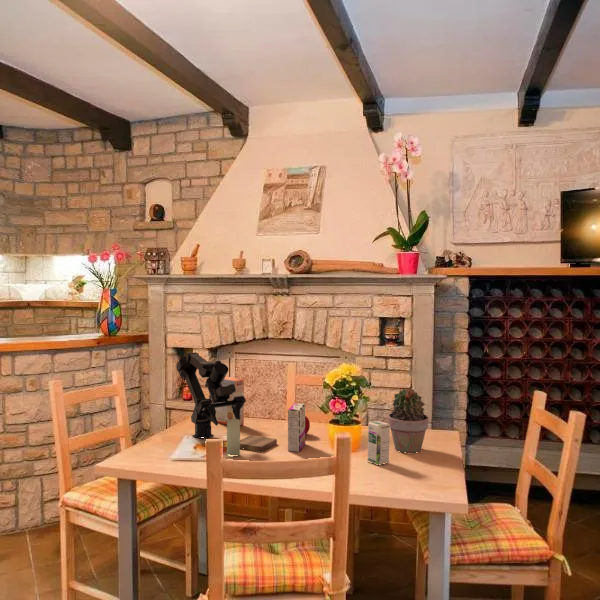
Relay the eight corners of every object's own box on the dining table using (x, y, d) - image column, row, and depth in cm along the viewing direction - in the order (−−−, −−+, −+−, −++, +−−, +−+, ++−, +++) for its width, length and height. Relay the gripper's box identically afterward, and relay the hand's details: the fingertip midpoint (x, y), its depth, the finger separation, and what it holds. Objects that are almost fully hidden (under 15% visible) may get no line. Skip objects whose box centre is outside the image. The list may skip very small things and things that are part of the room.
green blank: (224, 455, 207) (224, 421, 206) (233, 452, 210) (233, 418, 210) (233, 458, 204) (233, 423, 203) (242, 454, 208) (242, 420, 207)
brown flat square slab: (235, 447, 216) (235, 442, 216) (251, 439, 227) (251, 435, 227) (261, 452, 211) (261, 447, 211) (276, 443, 222) (276, 439, 221)
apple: (313, 434, 236) (314, 410, 236) (302, 439, 229) (302, 415, 228) (295, 430, 241) (295, 408, 241) (284, 435, 234) (284, 412, 233)
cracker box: (244, 425, 250) (244, 379, 249) (234, 427, 245) (234, 380, 245) (224, 419, 259) (224, 375, 259) (214, 421, 255) (214, 376, 254)
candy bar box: (293, 443, 223) (293, 402, 222) (305, 444, 222) (305, 403, 221) (287, 451, 212) (287, 409, 211) (299, 452, 211) (300, 409, 210)
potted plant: (413, 440, 228) (414, 380, 227) (440, 454, 210) (442, 389, 209) (374, 444, 222) (375, 382, 221) (399, 459, 204) (400, 392, 203)
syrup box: (366, 462, 200) (367, 422, 200) (378, 459, 204) (378, 420, 203) (378, 466, 196) (378, 425, 195) (389, 463, 199) (390, 423, 199)
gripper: (199, 379, 209) (211, 414, 200) (243, 375, 219) (257, 408, 211) (191, 396, 216) (203, 431, 207) (234, 391, 226) (247, 424, 217)
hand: (228, 423), depth 210 cm, fingers open, 9 cm apart
